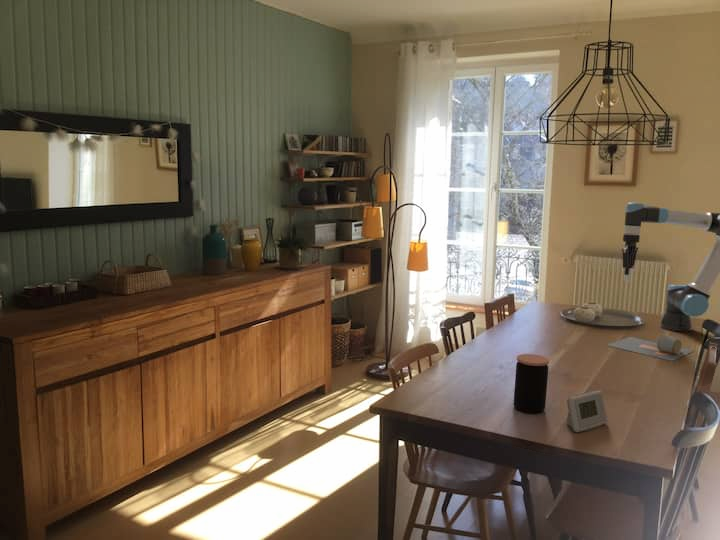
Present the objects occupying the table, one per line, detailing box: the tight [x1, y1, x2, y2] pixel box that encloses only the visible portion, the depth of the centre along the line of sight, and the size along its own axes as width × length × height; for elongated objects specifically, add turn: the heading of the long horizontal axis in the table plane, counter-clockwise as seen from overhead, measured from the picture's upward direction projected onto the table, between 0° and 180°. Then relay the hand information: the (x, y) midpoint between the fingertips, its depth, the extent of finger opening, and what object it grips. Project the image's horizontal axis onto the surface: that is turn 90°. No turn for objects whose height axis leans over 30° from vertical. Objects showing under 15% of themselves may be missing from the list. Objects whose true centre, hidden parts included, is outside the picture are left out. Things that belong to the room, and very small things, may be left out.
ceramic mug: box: [656, 333, 682, 354], centre depth 299 cm, size 11×8×8 cm
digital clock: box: [566, 390, 609, 433], centre depth 212 cm, size 16×9×11 cm, turn 112°
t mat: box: [606, 336, 694, 362], centre depth 305 cm, size 24×30×1 cm
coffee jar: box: [512, 353, 550, 415], centre depth 225 cm, size 11×11×18 cm
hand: (626, 280), depth 329 cm, fingers closed
